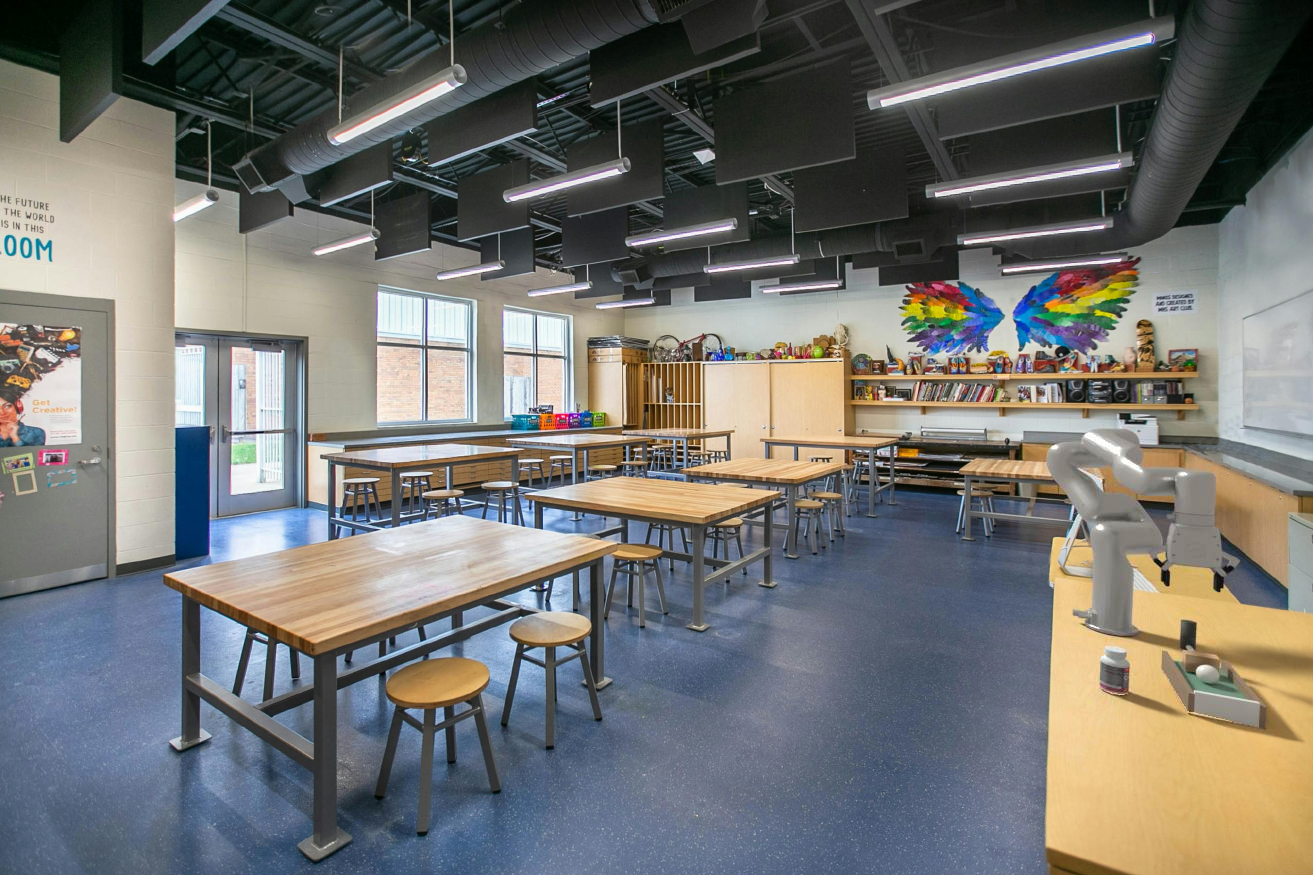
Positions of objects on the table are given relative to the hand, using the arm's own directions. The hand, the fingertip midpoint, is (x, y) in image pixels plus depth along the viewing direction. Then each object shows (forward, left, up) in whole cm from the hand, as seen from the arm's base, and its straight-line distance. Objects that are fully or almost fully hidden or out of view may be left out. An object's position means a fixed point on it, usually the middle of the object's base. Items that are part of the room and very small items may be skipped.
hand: (1191, 587), depth 151 cm
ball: (0, -18, -15) cm, 23 cm away
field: (0, -19, -20) cm, 27 cm away
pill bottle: (-18, -27, -20) cm, 38 cm away
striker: (0, -6, -17) cm, 18 cm away
